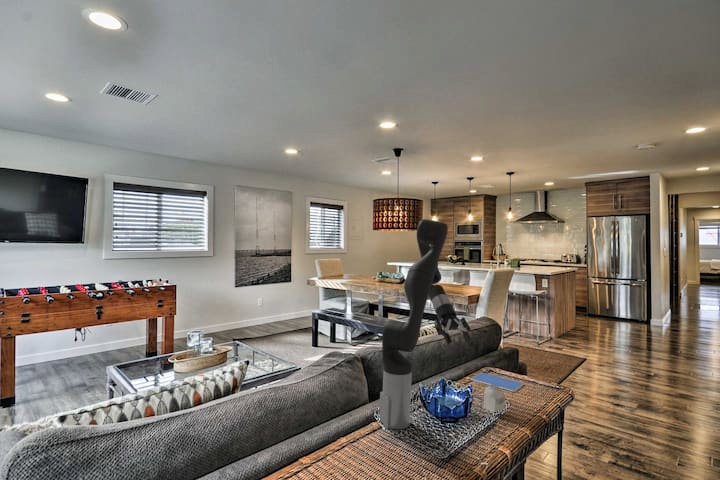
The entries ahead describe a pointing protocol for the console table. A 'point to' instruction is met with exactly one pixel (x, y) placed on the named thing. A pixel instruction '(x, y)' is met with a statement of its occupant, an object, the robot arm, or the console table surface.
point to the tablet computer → (498, 382)
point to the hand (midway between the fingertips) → (459, 342)
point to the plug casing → (494, 398)
